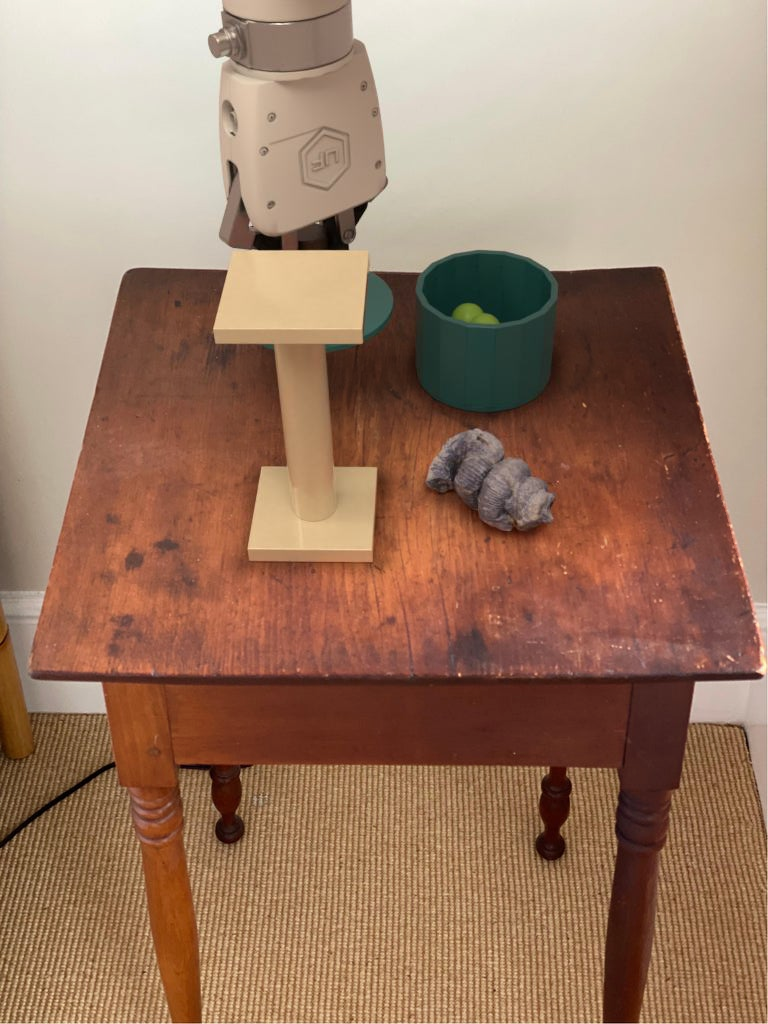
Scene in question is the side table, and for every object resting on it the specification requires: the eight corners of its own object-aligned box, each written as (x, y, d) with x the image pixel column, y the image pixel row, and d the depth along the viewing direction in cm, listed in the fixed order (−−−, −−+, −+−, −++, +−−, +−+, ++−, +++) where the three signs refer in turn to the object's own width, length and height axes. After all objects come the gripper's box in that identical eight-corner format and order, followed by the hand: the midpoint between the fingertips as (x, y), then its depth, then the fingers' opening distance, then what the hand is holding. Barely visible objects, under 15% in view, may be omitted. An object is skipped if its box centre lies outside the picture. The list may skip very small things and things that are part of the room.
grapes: (530, 373, 86) (534, 324, 83) (485, 397, 84) (487, 347, 81) (476, 337, 89) (478, 288, 86) (431, 359, 87) (431, 310, 84)
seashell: (432, 489, 79) (545, 562, 74) (400, 467, 75) (518, 544, 70) (474, 425, 79) (589, 494, 74) (444, 399, 74) (566, 471, 70)
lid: (425, 321, 80) (424, 236, 75) (293, 382, 75) (284, 295, 71) (334, 258, 87) (328, 176, 82) (208, 310, 82) (194, 227, 77)
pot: (577, 376, 86) (587, 292, 81) (475, 430, 82) (478, 345, 77) (489, 317, 92) (493, 235, 87) (390, 364, 88) (387, 281, 83)
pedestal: (378, 479, 78) (369, 249, 66) (372, 563, 73) (362, 328, 60) (262, 478, 79) (232, 250, 66) (248, 561, 73) (212, 328, 60)
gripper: (203, 89, 62) (245, 365, 74) (435, 15, 68) (437, 279, 81) (138, 50, 66) (188, 316, 79) (362, -17, 73) (374, 239, 85)
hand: (314, 295), depth 80 cm, fingers closed on lid, 2 cm apart
